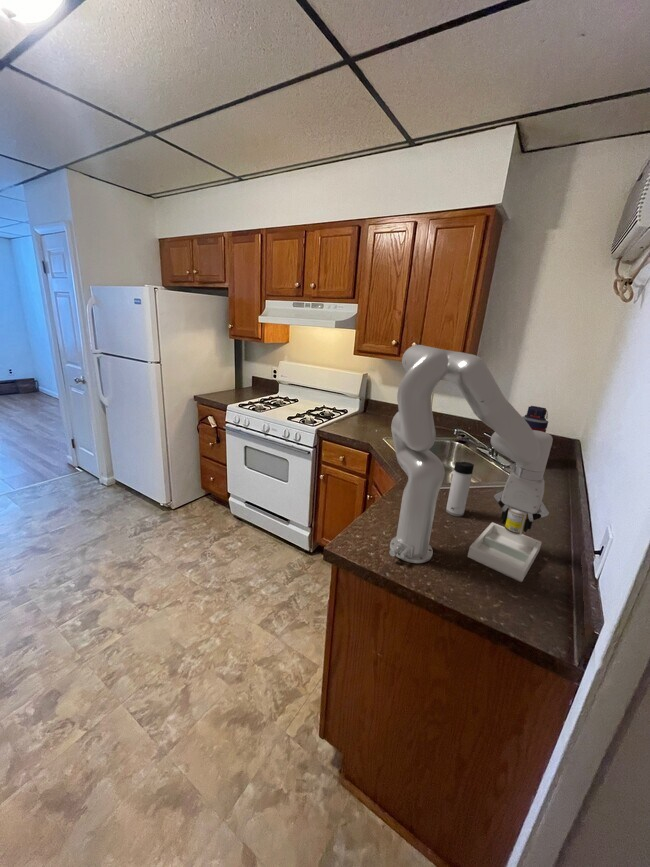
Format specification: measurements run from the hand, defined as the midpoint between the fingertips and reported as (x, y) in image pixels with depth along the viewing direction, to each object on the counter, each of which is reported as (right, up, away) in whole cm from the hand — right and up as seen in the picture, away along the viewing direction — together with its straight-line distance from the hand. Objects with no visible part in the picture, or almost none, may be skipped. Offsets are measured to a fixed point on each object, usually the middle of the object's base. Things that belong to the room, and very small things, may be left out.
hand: (515, 525), depth 111 cm
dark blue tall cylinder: (+44, +13, +75) cm, 88 cm away
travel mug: (-11, -1, +22) cm, 24 cm away
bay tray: (-4, -9, -1) cm, 9 cm away
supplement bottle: (0, -2, +1) cm, 2 cm away
